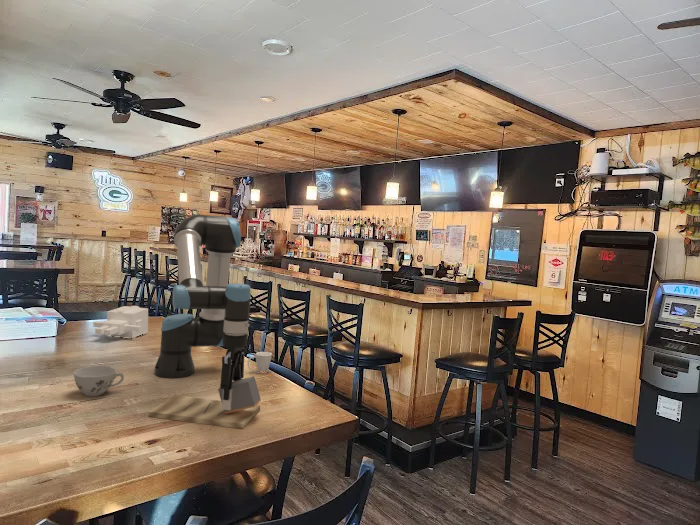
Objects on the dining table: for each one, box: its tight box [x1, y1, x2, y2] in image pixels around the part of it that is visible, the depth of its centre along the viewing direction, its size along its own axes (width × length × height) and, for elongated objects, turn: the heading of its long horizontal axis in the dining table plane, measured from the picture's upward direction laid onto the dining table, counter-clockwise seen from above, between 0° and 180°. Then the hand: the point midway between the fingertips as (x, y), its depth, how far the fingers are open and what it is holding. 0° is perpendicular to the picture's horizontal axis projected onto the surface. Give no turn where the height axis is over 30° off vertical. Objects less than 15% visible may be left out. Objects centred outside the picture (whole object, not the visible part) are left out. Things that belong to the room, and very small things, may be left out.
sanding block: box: [217, 376, 262, 414], centre depth 146 cm, size 10×6×8 cm, turn 83°
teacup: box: [73, 365, 125, 397], centre depth 157 cm, size 15×12×8 cm
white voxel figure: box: [93, 305, 149, 338], centre depth 238 cm, size 15×25×28 cm
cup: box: [247, 351, 273, 374], centre depth 195 cm, size 7×10×8 cm
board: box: [148, 394, 261, 430], centre depth 147 cm, size 30×16×2 cm, turn 83°
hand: (230, 405), depth 146 cm, fingers closed on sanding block, 6 cm apart
